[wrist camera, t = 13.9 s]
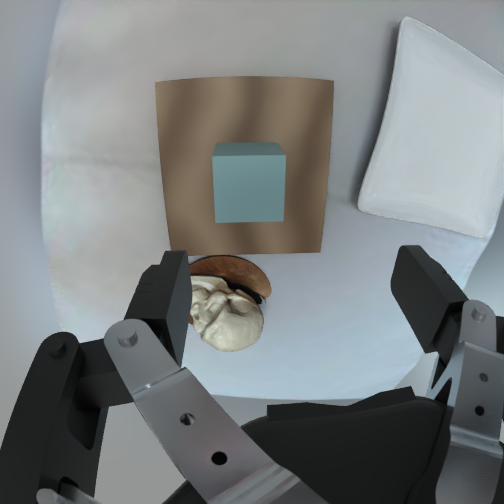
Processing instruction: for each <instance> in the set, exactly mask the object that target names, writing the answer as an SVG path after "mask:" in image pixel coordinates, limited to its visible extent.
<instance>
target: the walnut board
mask: <svg viewBox="0 0 504 504" xmlns="http://www.w3.org/2000/svg"><path fill="white" fill-rule="evenodd" d="M155 87H156V108H157V124H158V138H159V151H160V162H161V173H162V182H163V192H164V200H165V209H166V217H167V225H168V232H169V239H170V246H171V251H177V250H186V251H187V255H188V256H195V255H237V254H277V253H317V252H320V250H321V242H322V234H323V225H324V216H325V206H326V196H327V185H328V174H329V161H330V147H331V132H332V114H333V91H334V81H331V80H321V79H308V78H292V77H262V76H241V77H210V78H194V79H182V80H172V81H162V82H155ZM243 142H277V143H278V144H279V146H280V147H281V149H282V150H283V152H284V153H285V155H286V171H285V197H284V220H283V222H234V223H215V205H214V186H213V164H212V156H213V153H214V150H215V147H216V144H217V143H243Z"/></svg>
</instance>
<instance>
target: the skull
mask: <svg viewBox="0 0 504 504" xmlns="http://www.w3.org/2000/svg"><path fill="white" fill-rule="evenodd" d="M189 269H190V276H191V283H192V305H191V311H190V317H189V323H190V324H192V325H193V328H194V329H195V330H196V331H197V332H198V333H199V334H200V335H201V339H202V341H204V342H206V343H208V344H209V345H211V346H212V347H214V348H215V349H217V350H219V351H224V352H234V351H239V350H243V349H245V348H247V347H249V346H251V345H252V344H254V343H255V342H256V341H258V339H259V337H260V335H261V332H262V329H263V324H264V318H263V314H262V311H261V310H260V308H259V306H258V303H259V304H261V303H262V302H261V301H262V299H261V297H262V298H263V299H264V300H265V303H266V298H268V297H269V295H270V293H271V286H270V283H269V281H268V279H267V277H266V275H265V274H264V273H263V272H262V271H261V270H260V269H259V268H258V267H257V266H255V265H254V264H252V263H250V262H248V261H245V260H243V259H239V258H235V257H230V256H216V257H210V258H206V259H205V258H204V259H202V260H200V261H197V262H195V263H193V264H192V265H190V266H189ZM260 296H261V297H260Z"/></svg>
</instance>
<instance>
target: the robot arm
mask: <svg viewBox="0 0 504 504" xmlns="http://www.w3.org/2000/svg"><path fill="white" fill-rule="evenodd" d="M391 291H392V294H393V296H394V298H395V299H396V301H397V303H398V304H399V306H400V308H401V310H402V312H403V313H404V315H405V317H406V319H407V320H408V322H409V324H410V326H411V328H412V330H413V331H414V333H415V335H416V337H417V339H418V341H419V343H420V345H421V346H422V348H423V350H424V352H425V353H431V352H436V351H437V352H438V356H437V358H436V360H435V363H434V367H433V371H432V375H431V379H430V382H429V386H428V389H427V393H426V396H425V397H420V396H415V394H414V392H413V389H412V387H411V386H409V387H405V388H400V389H395V390H389V391H384V392H380V393H377V394H375V395H373V396H371V397H368V398H366V399H364V400H362V401H359V402H357V403H354V404H352V405H349V406H336V405H326V404H316V403H308V402H305V403H293V404H280V405H279V404H278V405H267V416H264V417H260V418H257V419H255V420H252V421H250V422H248V423H246V424H244V425H242V426H241V427H239V426H238V425H237V424H236V423H235V421H234V420H233V419H232V418H231V417H230V416H229V415H228V414H227V413H226V412H225V411H224V410H223V408H222V407H221V406H220V405H219V404H218V403H217V402H216V401H215V399H214V398H213V397H212V396H211V395H210V394H209V393H208V391H207V390H206V389H205V388H204V387H203V386H202V384H201V383H200V382H199V381H198V380H197V378H196V377H195V376H194V375H193V374H192V373H191V371H190V370H189V369H187V368H186V367H184V368H182V369H181V365H182V358H183V352H184V346H185V340H186V334H187V328H188V322H189V317H190V311H191V305H192V283H191V276H190V269H189V262H188V255H187V251H186V250H177V251H165V253H164V255H163V258H162V260H161V263H160V265H151V266H150V267H149V268H148V269H147V270H146V271H145V272H144V273H143V274H142V276H141V278H140V281H139V285H137V288H136V290H135V293H134V295H133V297H132V300H131V302H130V305H129V307H128V310H127V312H126V315H125V317H124V320H122V321H119V322H117V323H115V324H114V325H112V326H111V327H110V328H109V329H108V330H107V332H106V334H105V336H104V338H103V339H99V340H94V341H89V342H84V343H79V342H78V340H77V338H76V336H75V335H73V334H72V333H69V332H58V333H55V334H52V335H51V336H49V337H47V338H46V339H45V340H44V341H43V342H42V343H41V345H40V347H39V349H38V351H37V353H36V355H35V358H34V360H33V362H32V364H31V367H30V369H29V371H28V374H27V376H26V378H25V381H24V383H23V386H22V389H21V391H20V393H19V396H18V399H17V401H16V404H15V406H14V409H13V412H12V415H11V418H10V421H9V423H8V427H7V430H6V433H5V436H4V439H3V442H2V446H1V449H0V504H101V503H100V502H99V501H97V500H96V499H94V494H95V485H96V478H97V470H98V463H99V457H100V451H101V445H102V439H103V434H104V429H105V423H106V418H107V413H108V408H109V406H115V405H120V404H126V403H131V402H134V403H135V405H136V407H137V408H138V410H139V412H140V413H141V415H142V416H143V418H144V420H145V421H146V423H147V424H148V426H149V428H150V429H151V431H152V432H153V434H154V435H155V437H156V438H157V440H158V441H159V443H160V444H161V446H162V447H163V449H164V450H165V452H166V453H167V455H168V456H169V458H170V459H171V460H172V462H173V463H174V465H175V466H176V467H177V469H178V470H179V471H180V473H181V474H182V475H183V477H184V478H185V479H186V481H185V482H184V483H183V484H182V485H181V486H180V487H179V488H178V489H177V490H176V491H175V492H174V493H173V494H172V495H171V496H170V497H169V498H168V499H167V500H166V501H165V502H163V503H162V504H504V444H503V443H502V442H501V441H499V437H500V429H501V423H502V419H503V422H504V317H501V316H495V313H494V312H493V310H492V309H491V308H490V307H489V306H488V305H486V304H485V303H483V302H481V301H478V300H469V299H468V298H467V297H466V295H465V294H464V293H463V291H462V290H461V289H460V288H459V286H458V285H457V284H456V283H455V281H454V280H452V278H451V276H450V275H449V274H447V272H446V270H445V269H444V268H443V267H442V266H441V264H439V263H438V262H436V261H435V260H434V259H432V258H431V257H430V256H429V255H428V254H427V253H426V252H425V251H424V250H423V248H422V247H421V246H419V245H403V246H401V247H400V248H399V251H398V255H397V258H396V262H395V266H394V270H393V274H392V277H391Z"/></svg>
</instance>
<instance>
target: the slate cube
mask: <svg viewBox="0 0 504 504" xmlns="http://www.w3.org/2000/svg"><path fill="white" fill-rule="evenodd" d="M212 164H213V186H214V205H215V223H234V222H283V220H284V197H285V171H286V155H285V153H284V152H283V150H282V149H281V147H280V146H279V144H278V143H277V142H243V143H217V144H216V147H215V150H214V153H213V156H212Z"/></svg>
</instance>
